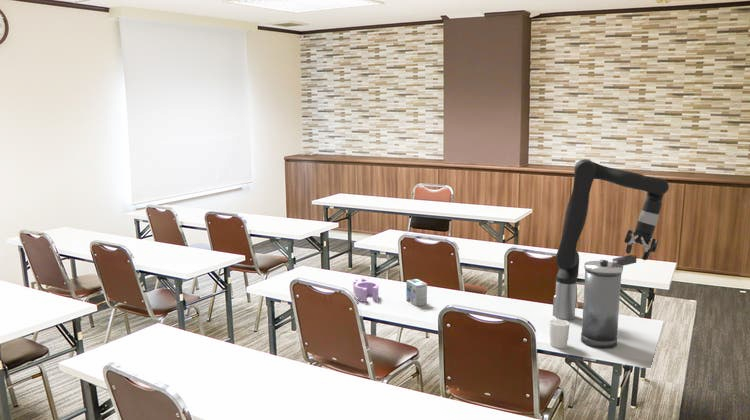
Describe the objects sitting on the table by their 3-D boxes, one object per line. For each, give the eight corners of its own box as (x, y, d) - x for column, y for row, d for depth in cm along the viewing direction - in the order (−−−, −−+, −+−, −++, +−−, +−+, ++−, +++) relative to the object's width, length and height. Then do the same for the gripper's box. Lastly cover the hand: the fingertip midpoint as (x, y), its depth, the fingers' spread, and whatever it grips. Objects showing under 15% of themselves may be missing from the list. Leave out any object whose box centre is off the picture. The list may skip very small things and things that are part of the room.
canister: (573, 340, 255) (577, 267, 249) (595, 333, 262) (599, 262, 257) (602, 351, 243) (607, 275, 237) (624, 344, 250) (629, 270, 245)
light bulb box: (405, 300, 309) (405, 280, 307) (417, 298, 312) (417, 278, 310) (415, 306, 300) (415, 285, 298) (427, 304, 302) (427, 283, 301)
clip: (348, 292, 323) (348, 279, 322) (369, 289, 327) (369, 277, 326) (359, 303, 305) (359, 290, 304) (382, 300, 309) (382, 287, 308)
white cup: (546, 346, 248) (548, 323, 246) (550, 340, 255) (551, 318, 253) (566, 350, 244) (567, 327, 242) (569, 343, 251) (571, 321, 249)
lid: (576, 267, 250) (577, 259, 249) (618, 258, 264) (618, 250, 264) (607, 275, 237) (608, 267, 237) (649, 265, 252) (650, 257, 251)
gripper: (628, 216, 268) (617, 250, 270) (656, 226, 256) (644, 261, 259) (638, 218, 272) (627, 251, 274) (666, 227, 260) (654, 262, 263)
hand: (636, 256), depth 267 cm, fingers open, 8 cm apart
